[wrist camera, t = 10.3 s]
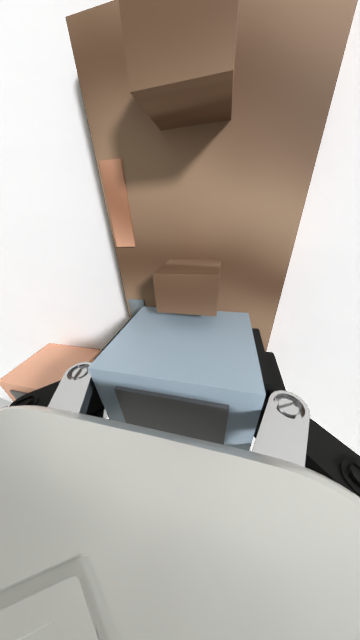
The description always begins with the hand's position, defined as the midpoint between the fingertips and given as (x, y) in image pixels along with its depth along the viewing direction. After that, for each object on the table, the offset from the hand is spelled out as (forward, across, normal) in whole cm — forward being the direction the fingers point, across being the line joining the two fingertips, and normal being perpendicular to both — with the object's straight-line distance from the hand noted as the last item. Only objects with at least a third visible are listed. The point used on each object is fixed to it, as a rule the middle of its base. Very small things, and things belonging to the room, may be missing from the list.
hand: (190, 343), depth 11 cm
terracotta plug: (+3, +14, +7) cm, 15 cm away
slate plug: (+1, 0, 0) cm, 1 cm away
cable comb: (+3, 0, -4) cm, 5 cm away
